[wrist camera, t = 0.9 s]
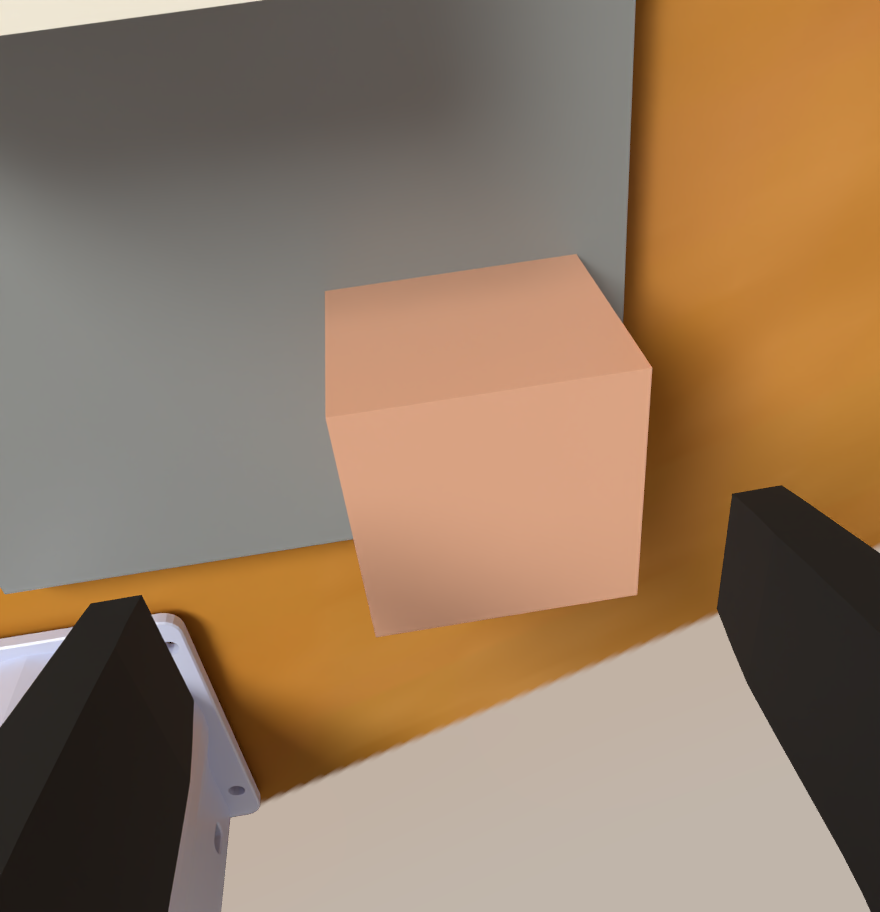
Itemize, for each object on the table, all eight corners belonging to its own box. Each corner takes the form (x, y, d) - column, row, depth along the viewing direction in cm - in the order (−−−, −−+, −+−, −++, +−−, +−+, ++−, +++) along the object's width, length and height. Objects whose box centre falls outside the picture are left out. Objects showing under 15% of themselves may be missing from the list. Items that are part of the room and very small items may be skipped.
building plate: (607, 477, 20) (616, 497, 20) (15, 571, 20) (5, 594, 19) (651, -1022, 8) (679, -1096, 8) (-856, -882, 8) (-961, -948, 7)
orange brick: (576, 455, 19) (636, 594, 15) (365, 488, 18) (375, 637, 15) (576, 254, 16) (652, 367, 12) (324, 290, 15) (325, 417, 12)
